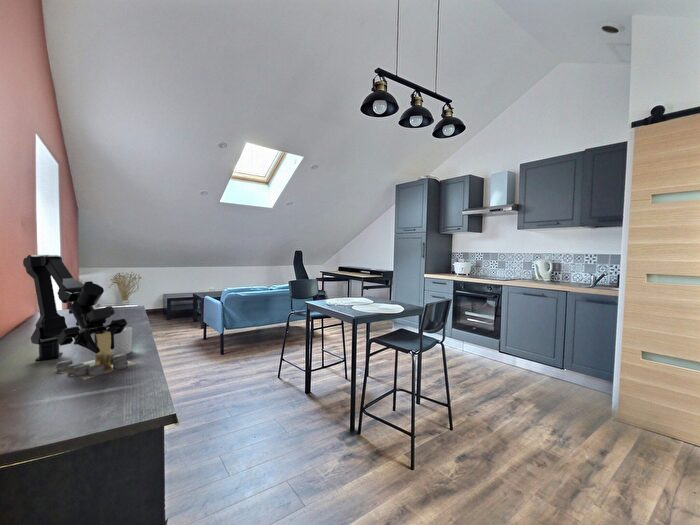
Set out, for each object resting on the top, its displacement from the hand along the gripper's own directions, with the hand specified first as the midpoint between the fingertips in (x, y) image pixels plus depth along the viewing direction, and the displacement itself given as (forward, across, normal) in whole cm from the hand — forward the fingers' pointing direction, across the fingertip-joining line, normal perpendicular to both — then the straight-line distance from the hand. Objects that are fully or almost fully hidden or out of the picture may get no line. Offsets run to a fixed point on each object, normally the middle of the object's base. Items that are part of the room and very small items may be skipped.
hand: (105, 350), depth 109 cm
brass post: (+4, 0, +5) cm, 6 cm away
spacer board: (+1, 0, +9) cm, 9 cm away
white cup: (-5, +13, +15) cm, 21 cm away
